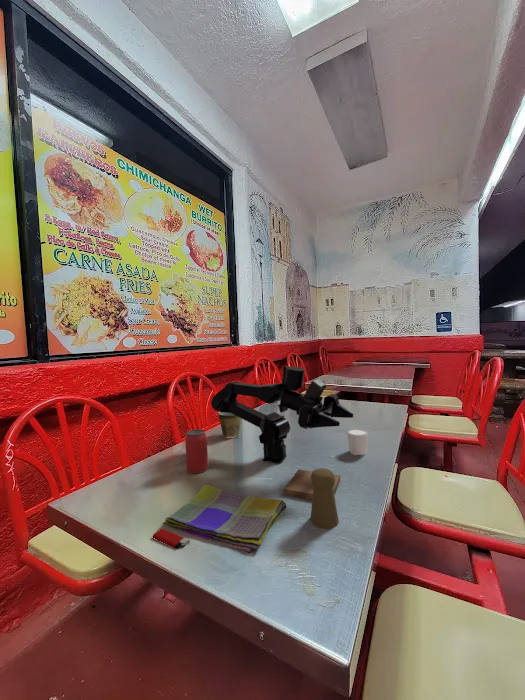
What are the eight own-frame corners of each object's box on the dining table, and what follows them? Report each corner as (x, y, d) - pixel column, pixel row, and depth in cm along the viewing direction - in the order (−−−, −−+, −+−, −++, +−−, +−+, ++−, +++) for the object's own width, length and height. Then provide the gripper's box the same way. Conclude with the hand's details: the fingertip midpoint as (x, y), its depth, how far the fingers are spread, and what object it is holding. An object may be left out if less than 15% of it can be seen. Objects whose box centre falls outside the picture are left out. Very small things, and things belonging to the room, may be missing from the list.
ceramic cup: (242, 439, 121) (241, 414, 121) (217, 440, 122) (216, 415, 121) (244, 429, 134) (243, 407, 134) (222, 430, 134) (221, 408, 134)
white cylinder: (346, 455, 101) (345, 434, 100) (348, 447, 107) (348, 428, 107) (368, 457, 98) (367, 436, 98) (369, 449, 104) (368, 429, 104)
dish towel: (207, 490, 83) (207, 480, 83) (291, 508, 72) (290, 497, 72) (160, 528, 67) (159, 515, 67) (258, 558, 56) (257, 544, 56)
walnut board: (284, 494, 78) (284, 488, 77) (298, 474, 88) (298, 469, 88) (331, 503, 73) (330, 497, 72) (340, 480, 83) (340, 475, 83)
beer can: (212, 468, 95) (210, 431, 95) (194, 476, 90) (192, 436, 90) (200, 463, 100) (198, 427, 99) (182, 470, 95) (180, 432, 94)
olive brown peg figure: (339, 529, 63) (337, 478, 62) (309, 527, 64) (307, 476, 63) (338, 512, 69) (336, 465, 68) (311, 511, 70) (309, 464, 69)
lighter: (163, 527, 65) (190, 538, 61) (163, 533, 65) (190, 544, 61) (152, 534, 63) (179, 547, 59) (152, 540, 63) (180, 553, 59)
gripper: (285, 381, 84) (336, 398, 75) (317, 373, 99) (364, 386, 89) (280, 419, 86) (329, 440, 77) (312, 405, 101) (357, 421, 91)
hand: (346, 419), depth 83 cm, fingers open, 9 cm apart
